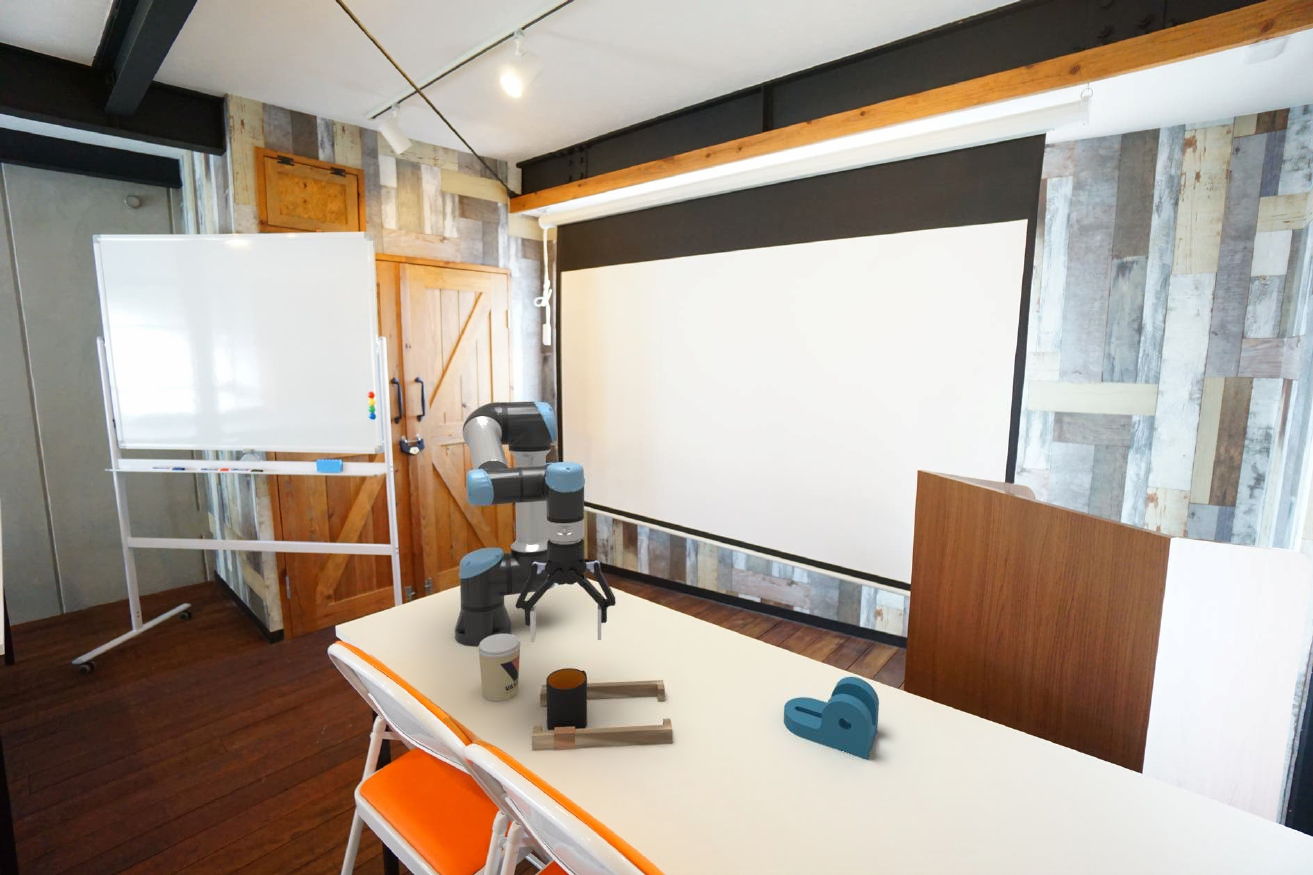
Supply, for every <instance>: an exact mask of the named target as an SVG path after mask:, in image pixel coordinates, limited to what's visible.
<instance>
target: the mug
mask: <svg viewBox="0 0 1313 875" xmlns="http://www.w3.org/2000/svg"><path fill="white" fill-rule="evenodd" d="M587 675H588V674H587V672H586V671H585V670H581V669H579V668H573V667H571V668H570V667H567V668H566V667H565V668H561V669H557V670H554V671H552V672H551V673H550V674H549V675H548V676H547V677H546V681H545V682H546V684H545V685H546V693H547V706H546V729H547V730H554V729H555V727H575V729H585V728H587V725H588V699H587V683H588V676H587Z"/></svg>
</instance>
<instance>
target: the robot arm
mask: <svg viewBox="0 0 1313 875" xmlns="http://www.w3.org/2000/svg"><path fill="white" fill-rule="evenodd" d="M557 427H558V426H557V420H556V417H555V413H554V410H553V407H552V406H551V405H550V404H549V403H548V402H545V401H544V402H542V401H533V400H532V401H508V402H507V401H505V402H501V401H497V402H496V401H495V402H490V403H487V404H486V403H485V404H483V405H481V406H480V407H478V408H476V409H474V411H472V412H471V413H470V414H469V415H468V416H467V417H466V420H465V421H464V423H463V426H462V437H463V441H464V443H465V445H467V447H468V448H469V452H470V458H471V459H470V460H471V465H472V469H470V470H469V471H467V472H466V475H465V476H466V478H465V483H466V486H465V487H466V498H467V499H466V500H467V503H468V504H469V505H470V506H475V507H476V506H485V507H490V506H494V505H495V506H496V505H506V504H515V541H514V542H513V543H512V544H511V545H510V552H506V553H505V552H504V550H503V549H502V548H500V547H491V546H490V547H483V548H480V549H476V550H473V551H471V552H469V553H467V554H465V555H464V556H463V557H462V558H461V560H460V561H459V573H458V577H459V578H460V579H459V585H460V588H459V589H460V590H459V591H460V611H459V614H458V618H457V621H456V622H455V623H456V624H455V627H454V638H455V640H456V641H457V642H458V643H460V644H462V645H467V646H472V647H473V646H479V644H480V642H481V641H482V640H483V639H485V638H487V637H489V636H492V635H496V634H511V633H512V621H511V618H510V615H509V613H508V610H507V607H506V604H505V596H512V595H519V596H518V597H517V600H516V603H515V608H516V609H521V610H523V611H524V624H525V625H526V626H529V627H530V643H535V641H536V637H537V617H536V612H537V611H536V606H535V605H536V604H537V603H538V601H540V600H541V598H542V597H543V596H544V595H545V593H546V592H547V591H548V590H551V589H552V588H554V587H555V585H556V584H557V585H558V586H563V585H570V586H571V585H573V586H574V584H576V583H577V584H578V585H579V586H580V587H581V588H583V590H584V591H585V592H586V593H587V594H588V595H589V596H590V598H592V600H593V601H594V602H595V603H596V605H597V641H601V640H602V624H606V623H607V622H608V611H607V610H608V608H609V607H614V606H616V603H617V602H616V596H615V594H614V592H613V591H612V588H611V587H610V585H609V583H608V581H607V579H606V577H605V575H604V573H603V572H602V570H601V564H600V560H599V559H597V558H595V559H594V560H593V561H588V562H587V561H586V559H585V558H586V557H585V540H584V539H583V538H584V537H585V484H586V480H585V472H584V467H583V465H582V464H580V463H577V462H573V461H571V462H570V461H558V462H547V455H549V453H550V452H551V451H552V444H556V442H557V441H558V428H557ZM505 445H507V446H508V452H510V454H511V456H513V457H514V467H510V466H509V463H508V461H507V457H506V454H505V451H504V449H503V448H504V446H505ZM586 570H589V571H590V573H592V574H594V576H595V579H596V581H597V583H598V585H599V586H600V588H601V590H602V592H603V594H604V596H605V597H604V596H603V594H601V592H600V591H599V590H598V589H597V588H596V587H595V586H594V585H593V583H592V582H591V581H590V580H589V579H588V578H587V576H586V575H585V572H586ZM529 593H533V594H532V595H531V596H530V597H529V599H527V600H526V598H527V596H528V595H529Z"/></svg>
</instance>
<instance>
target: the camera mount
mask: <svg viewBox="0 0 1313 875" xmlns="http://www.w3.org/2000/svg"><path fill="white" fill-rule="evenodd" d="M879 706H880V700H879V695H878V694H877V692H876V690H875V688H874V687H873V686H872V685H871V683H869V682H867V681H866V680H865V679H863V678H860V677H857V676H846V677H843V678H841V679H840V680H839V681H837V683H836V685H835V687H834V689H833V691H832V693H831V696H830V698H829V699H828V700H827V702H826V701H824V700H820V699H818V698H817V699H816V698H812V697H808V696H807V697H805V696H801V697H794V698H792V699H789V700H787V701H786V702H785V704H784V708H783V724H784V726H785V728H786V729H787V730H788V731H789V732H791V733H792V734H793V735H794V736H796V737H799V738H801V739H805V740H807V741H809V742H810V741H811V742H813V743H816V744H819V745H821V746H823V747H828V748H831V749H832V750H833V749H834V750H836V749H837V751H839V752H842V751H844V752H843V753H845V752H846V754H848V753H849V755H851V754H852V755H851V756H854V757H857V756H858V757H857V758H861V759H862V760H866V761H869V760H868V759H869V757H870V755H871V751H872V748H873V745H874V741H875V739H876V736H877V733H878V729H879V728H878V725H879V724H878V723H879V711H880V710H879Z"/></svg>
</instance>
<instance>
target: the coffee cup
mask: <svg viewBox="0 0 1313 875" xmlns="http://www.w3.org/2000/svg"><path fill="white" fill-rule="evenodd" d="M521 647H522V646H521V641H520V639H519V637H518V636H516V635H515V634H511V633H510V634H496V635H492V636H489V637H487V638H485V639H483V640H482V641H481V642H480V644H479V645H478V647H477V652H478V657H479V658H478V659H479V668H480V669H479V670H480V679H481V688H482V695H483V698H485V699H486V700H487V701H490V702H503V701H506V700H509V699H511V698H513V697H515V696H516V694H518V688H519V677H520V676H519V675H520V674H519V673H520V657H521V656H520V654H521V652H520V651H521V650H520V649H521Z"/></svg>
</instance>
